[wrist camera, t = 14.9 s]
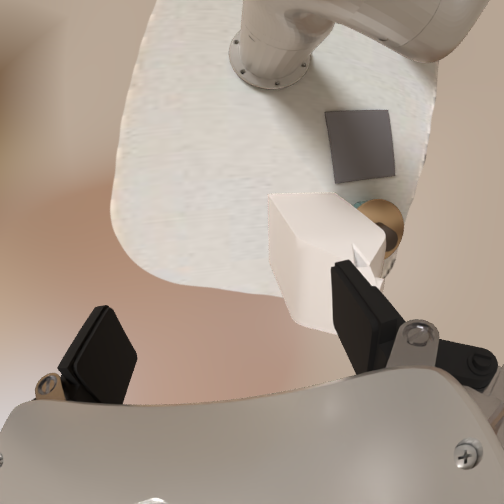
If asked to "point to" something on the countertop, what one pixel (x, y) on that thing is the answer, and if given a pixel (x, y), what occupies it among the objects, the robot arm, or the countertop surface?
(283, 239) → the milk
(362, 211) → the lid
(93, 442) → the robot arm
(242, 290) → the countertop surface
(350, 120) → the mat
